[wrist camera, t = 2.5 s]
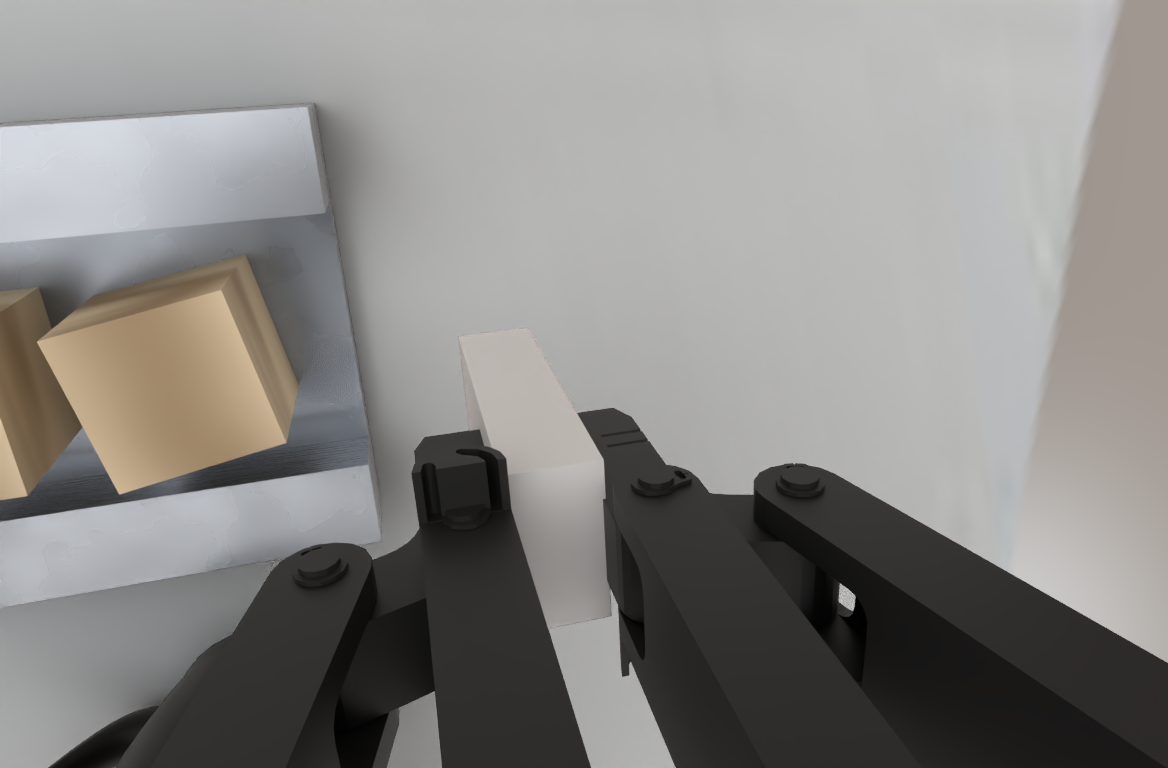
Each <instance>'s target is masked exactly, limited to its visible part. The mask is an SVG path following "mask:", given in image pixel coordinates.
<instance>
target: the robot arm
mask: <svg viewBox="0 0 1168 768" xmlns="http://www.w3.org/2000/svg"><path fill="white" fill-rule="evenodd" d="M458 337H459V346H460V354H461V363H462V372H463V380H464V389H465V397H466V406H467V414H468V423H469V431H464V432H457V433H450V434H444V435H437V436H430V437H425V438H424V439H423V440H422V442H421V443H420V444H419V446H418V447H417V448H416V450H415V451H414V453H415V464H414V467H413V470H412V480H413V486H414V493H415V500H416V506H417V513H418V520H419V527H420V528H419V530H418V532H417V534H416V535H415V536H414V537H413V538H412V539H411V540H410V541H409V542H408V543H407V544H405V545H404V546H402V547H401V548H399V549H398V550H396V551H394V552H391V553H389V554H387V555H385V556H382V557H379V558H377V559H374V560H372V557H371V556H370V555H369V553H368V552H367V551H366V549H364V548H362V547H359V546H357V545H354V544H350V543H336V542H335V543H328V544H318V545H314V546H310V547H309V548H308V547H307V548H305V549H302V550H300V551H298V552H296V553H294V554H293V555H291V556H289V557H287V558H286V559H284V560H282V561H281V562H280V563H279V564H278V565H277V566H276V567H275V568H274V569H273V571H272V572H271V573H270V574H269V576H268V578H267V579H266V581H265V582H264V584H263V586H262V587H261V589H260V591H259V592H258V594H257V595H256V597H255V599H254V600H253V602H252V603H251V605H250V607H249V608H248V610H247V612H246V613H245V615H244V616H243V618H242V620H241V621H240V623H239V625H238V626H237V628H236V629H235V631H234V633H233V634H232V636H231V637H230V639H229V641H228V642H227V644H226V646H225V647H224V649H223V650H222V652H221V654H220V655H219V657H218V659H217V660H216V662H215V663H214V665H213V667H212V668H211V670H210V672H209V673H208V675H207V676H206V678H205V680H204V681H203V683H202V684H201V686H200V688H199V689H198V691H197V693H196V694H195V696H194V697H193V699H192V701H191V702H190V704H189V706H188V707H187V709H186V710H185V712H184V714H183V715H182V717H181V719H180V720H179V722H178V723H177V725H176V727H175V728H174V730H173V731H172V733H171V735H170V736H169V738H168V740H167V741H166V743H165V744H164V746H163V748H162V749H161V751H160V753H159V754H158V756H157V757H156V759H155V761H154V762H153V764H152V765H151V767H150V768H386V767H387V764H388V760H389V757H390V753H391V750H392V746H393V743H394V739H395V736H396V732H397V729H398V725H399V707H401V706H403V705H406V704H408V703H410V702H412V701H414V700H416V699H418V698H421V697H423V696H425V695H427V694H429V693H431V692H433V691H435V696H436V706H437V717H438V728H439V738H440V749H441V759H442V768H591V766H590V763H589V760H588V757H587V753H586V750H585V747H584V744H583V740H582V737H581V734H580V731H579V727H578V724H577V721H576V718H575V714H574V711H573V708H572V705H571V701H570V698H569V695H568V692H567V688H566V685H565V682H564V679H563V675H562V672H561V669H560V666H559V662H558V659H557V656H556V653H555V649H554V646H553V643H552V640H551V636H550V633H549V630H548V628H553V627H558V626H563V625H569V624H574V623H579V622H584V621H589V620H594V619H599V618H604V617H609V616H612V613H611V594H610V588H611V590H612V592H613V595H614V597H615V599H616V601H617V604H618V611H619V633H620V655H621V670H622V677H623V676H628V675H629V663H630V662H631V663H632V665H633V667H634V670H635V672H636V674H637V677H638V679H639V682H640V684H641V686H642V689H643V691H644V693H645V696H646V698H647V700H648V703H649V705H650V708H651V710H652V712H653V715H654V717H655V719H656V722H657V724H658V727H659V729H660V731H661V734H662V736H663V738H664V741H665V743H666V746H667V748H668V750H669V753H670V755H671V757H672V760H673V762H674V765H675V767H676V768H1168V663H1167V662H1165V661H1163V660H1161V659H1160V658H1158V657H1156V656H1154V655H1153V654H1151V653H1149V652H1147V651H1146V650H1144V649H1142V648H1140V647H1139V646H1137V645H1135V644H1133V643H1132V642H1130V641H1128V640H1126V639H1124V638H1123V637H1121V636H1119V635H1117V634H1116V633H1114V632H1112V631H1110V630H1109V629H1107V628H1105V627H1103V626H1102V625H1100V624H1098V623H1096V622H1094V621H1093V620H1091V619H1089V618H1088V617H1086V616H1084V615H1082V614H1080V613H1079V612H1077V611H1075V610H1073V609H1072V608H1070V607H1068V606H1066V605H1065V604H1063V603H1061V602H1059V601H1057V600H1056V599H1054V598H1052V597H1050V596H1049V595H1047V594H1045V593H1043V592H1042V591H1040V590H1038V589H1036V588H1034V587H1033V586H1031V585H1029V584H1027V583H1026V582H1024V581H1022V580H1021V579H1019V578H1017V577H1015V576H1014V575H1012V574H1010V573H1008V572H1007V571H1005V570H1003V569H1001V568H999V567H998V566H996V565H994V564H992V563H991V562H989V561H987V560H985V559H984V558H982V557H980V556H978V555H977V554H975V553H973V552H971V551H970V550H968V549H966V548H964V547H963V546H961V545H959V544H957V543H955V542H954V541H952V540H950V539H948V538H947V537H945V536H943V535H941V534H940V533H938V532H936V531H934V530H933V529H931V528H929V527H927V526H926V525H924V524H922V523H920V522H918V521H917V520H915V519H913V518H911V517H910V516H908V515H906V514H904V513H903V512H901V511H899V510H897V509H896V508H894V507H892V506H890V505H889V504H887V503H885V502H883V501H882V500H880V499H878V498H876V497H874V496H873V495H871V494H869V493H867V492H866V491H864V490H862V489H860V488H859V487H857V486H855V485H853V484H852V483H850V482H848V481H846V480H845V479H843V478H841V477H839V476H837V475H836V474H834V473H831V472H829V471H827V470H824V469H822V468H818V467H813V466H808V465H806V464H797V463H795V465H794V464H793V463H792V464H784V465H781V466H775V467H770V468H768V469H766V470H764V471H762V472H760V473H759V474H758V476H757V477H756V478H755V480H754V495H724V494H712V493H709V492H708V490H707V489H706V488H705V487H704V485H703V484H702V483H701V481H700V480H699V479H698V478H697V477H696V476H695V475H694V474H692V473H691V472H690V471H688V470H685V469H682V468H679V467H676V466H670V465H666V464H665V463H664V461H663V460H662V458H661V457H660V456H659V454H658V453H657V452H656V450H655V449H654V447H653V446H652V445H651V443H650V442H649V441H647V438H646V436H645V435H644V434H643V432H642V431H640V428H639V427H638V425H637V424H636V423H635V421H634V420H633V418H632V417H630V416H628V415H626V414H624V413H622V412H620V411H618V410H616V409H614V408H608V409H602V410H595V411H588V412H581V413H576V411H575V409H574V407H573V406H572V404H571V402H570V400H569V399H568V397H567V395H566V393H565V392H564V390H563V388H562V386H561V385H560V383H559V381H558V380H557V378H556V376H555V374H554V373H553V371H552V369H551V367H550V366H549V364H548V362H547V360H546V359H545V357H544V355H543V353H542V352H541V350H540V348H539V347H538V345H537V343H536V341H535V340H534V338H533V336H532V334H531V333H530V331H529V329H528V328H521V329H513V330H505V331H496V332H488V333H480V334H472V335H464V336H458ZM840 583H841V584H842V585H844V586H845V587H846V588H848V589H849V590H850V591H851V592H852V593H853V594H854V595H855V596H856V599H855V608H854V611H851V610H849V609H847V608H846V607H845V606H843V605H842V604H841V603H839V602H838V599H839V585H840Z"/></svg>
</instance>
